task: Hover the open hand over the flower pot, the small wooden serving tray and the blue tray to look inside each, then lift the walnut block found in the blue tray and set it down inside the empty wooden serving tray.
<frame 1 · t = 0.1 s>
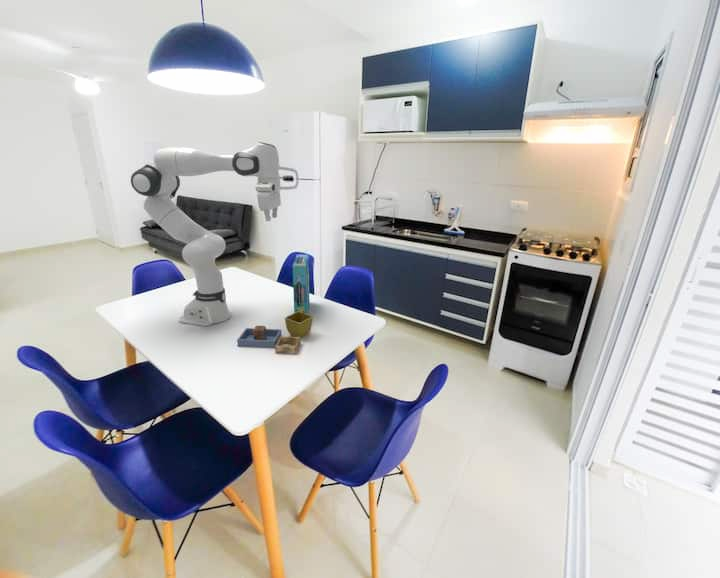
hand: (271, 219, 141), 48 cm above the table, fingers open, 8 cm apart
game box: (302, 311, 169), on the table
walnut block: (260, 340, 138), resting on blue tray
wooden serving tray: (288, 349, 133), on the table
blue tray: (260, 341, 138), on the table
flower pot: (299, 335, 144), on the table
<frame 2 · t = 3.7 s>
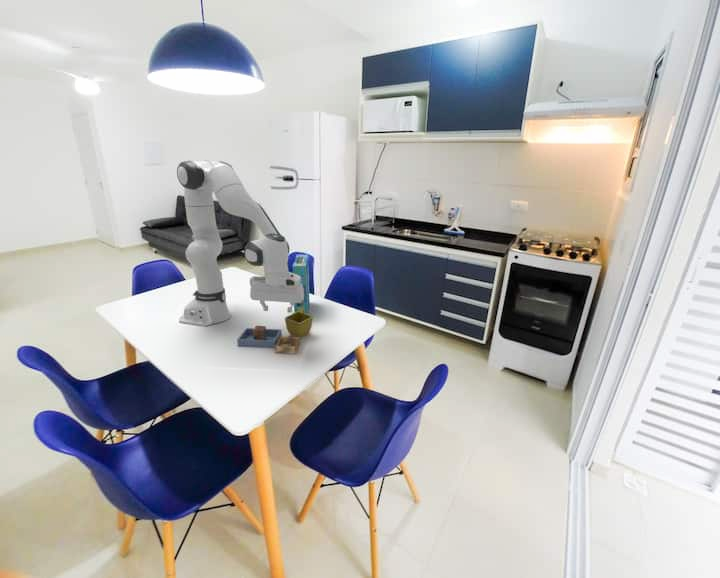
hand: (277, 311, 129), 16 cm above the table, fingers open, 8 cm apart
nothing on the table moved.
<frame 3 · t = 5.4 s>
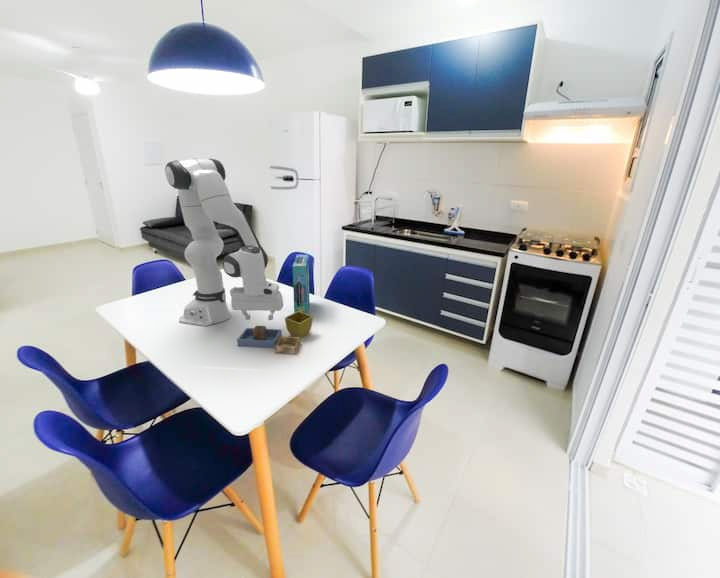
hand: (259, 319, 134), 11 cm above the table, fingers open, 8 cm apart
nothing on the table moved.
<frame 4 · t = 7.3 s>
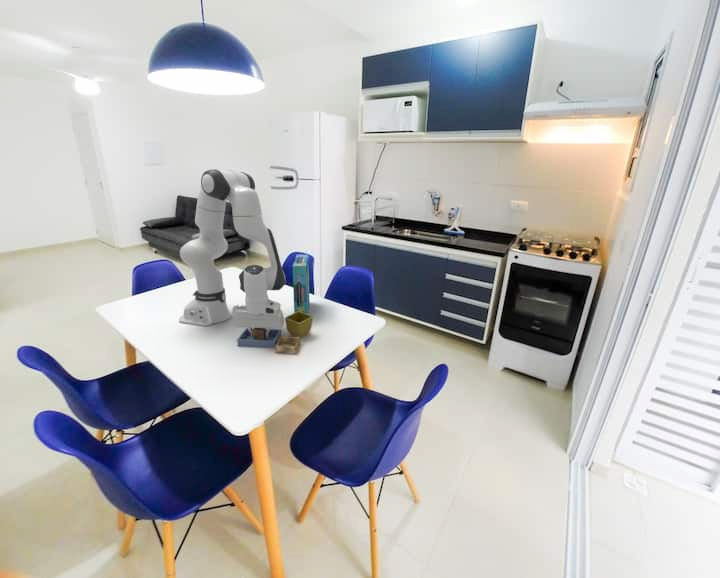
hand: (260, 336, 137), 3 cm above the table, fingers closed on walnut block, 4 cm apart
walnut block: (260, 340, 138), resting on blue tray, touching gripper
everything else where it was.
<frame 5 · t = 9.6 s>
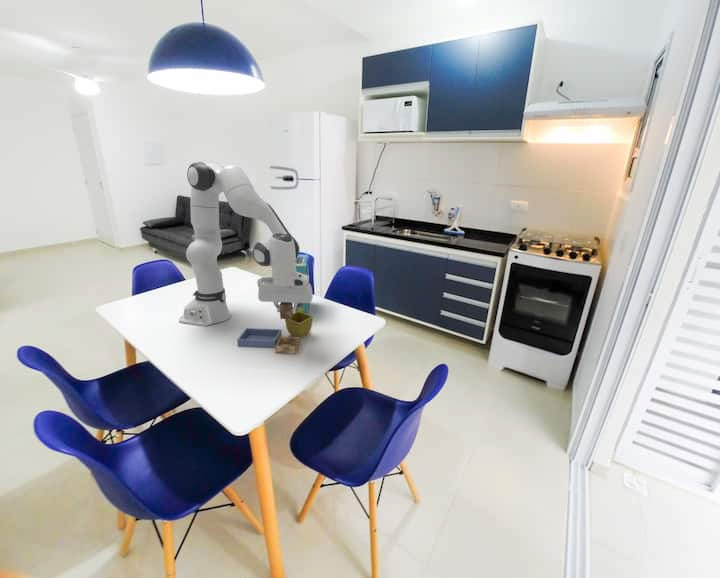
hand: (286, 312, 127), 17 cm above the table, fingers closed on walnut block, 4 cm apart
walnut block: (286, 316, 128), point 15 cm above the table, touching gripper
everything else where it was.
when the fingers open (5 cm above the table, at t = 12.3 s): walnut block drops 2 cm, resting on wooden serving tray.
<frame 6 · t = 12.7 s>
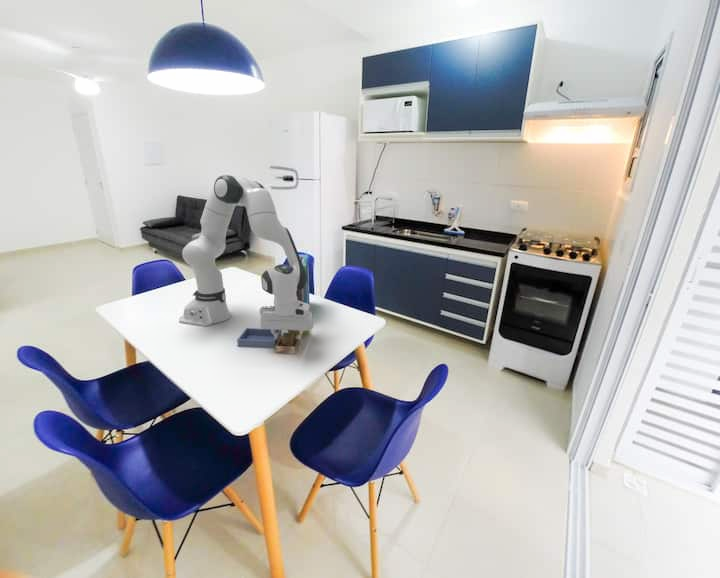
hand: (287, 338, 131), 5 cm above the table, fingers open, 8 cm apart
walnut block: (288, 348, 133), resting on wooden serving tray
everything else where it was.
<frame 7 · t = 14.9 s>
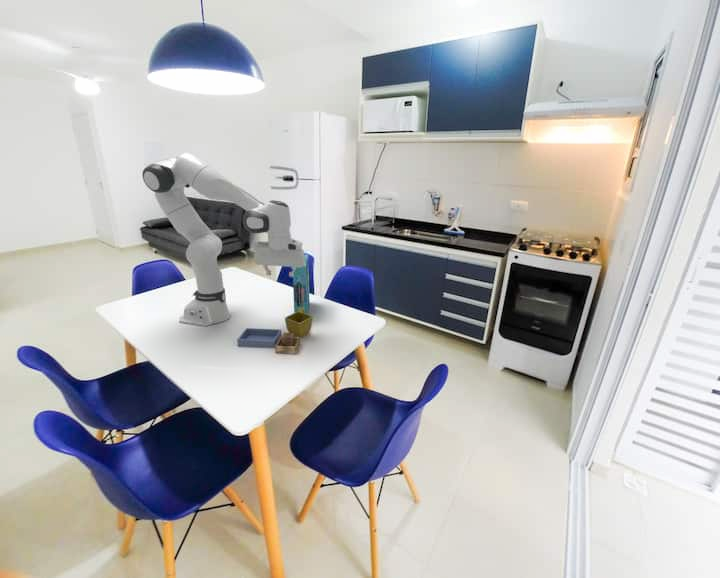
hand: (280, 275, 136), 27 cm above the table, fingers open, 8 cm apart
nothing on the table moved.
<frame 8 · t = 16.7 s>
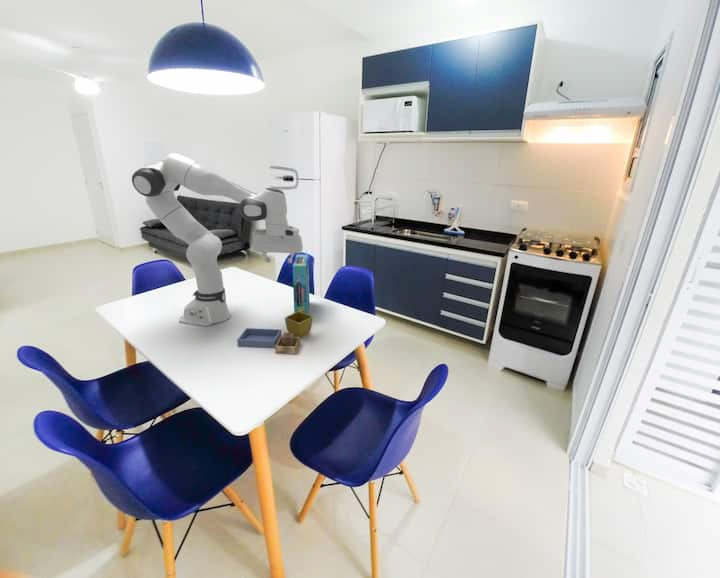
hand: (278, 262, 139), 31 cm above the table, fingers open, 8 cm apart
nothing on the table moved.
at the end: walnut block 0.0 cm off-centre on the wooden serving tray, point 0.5 cm above the wooden serving tray's base; the gripper is holding nothing; flower pot moved 0.2 cm from its start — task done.
